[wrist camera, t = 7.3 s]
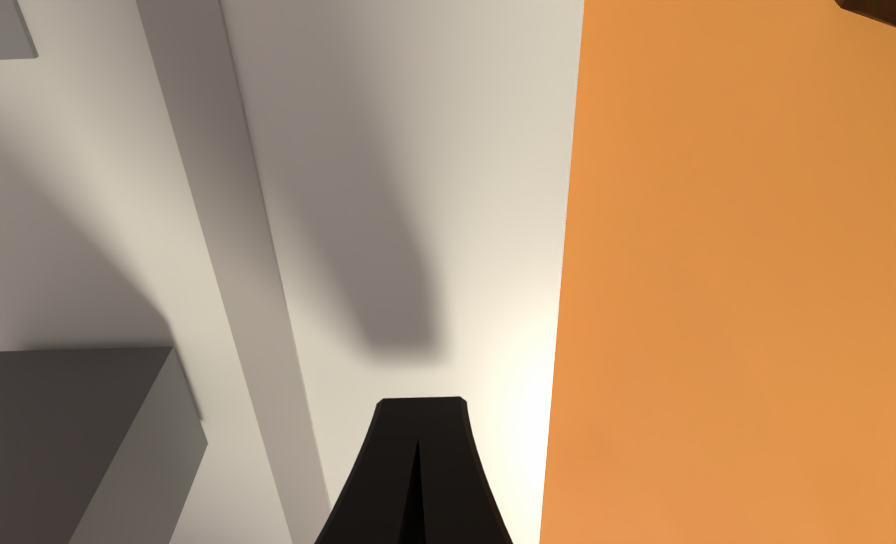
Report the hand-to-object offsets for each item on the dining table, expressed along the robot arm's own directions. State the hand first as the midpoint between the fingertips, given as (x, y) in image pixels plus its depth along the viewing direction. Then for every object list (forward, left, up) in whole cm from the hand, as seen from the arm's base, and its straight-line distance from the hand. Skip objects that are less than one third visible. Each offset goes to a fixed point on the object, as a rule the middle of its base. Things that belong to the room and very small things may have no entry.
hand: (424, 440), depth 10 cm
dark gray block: (0, +6, -1) cm, 6 cm away
